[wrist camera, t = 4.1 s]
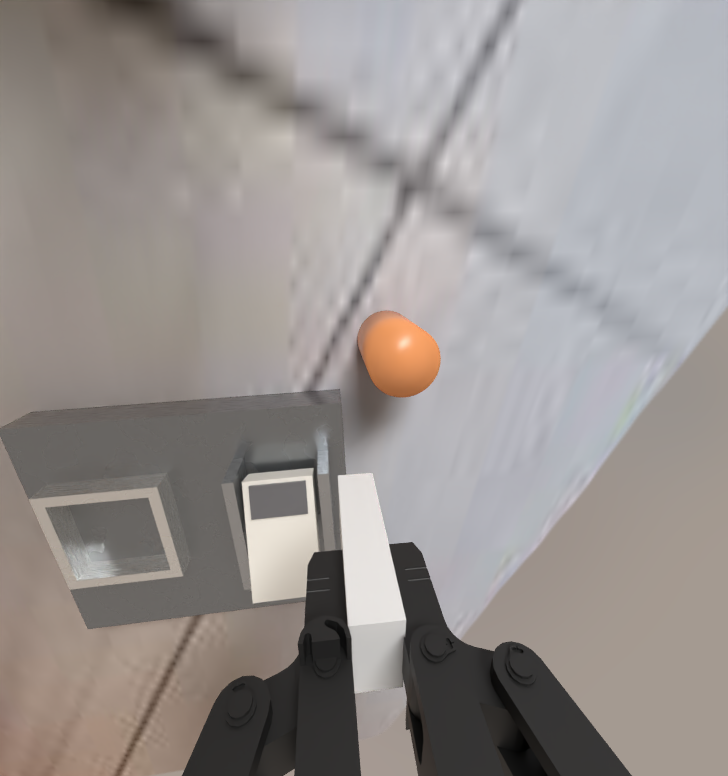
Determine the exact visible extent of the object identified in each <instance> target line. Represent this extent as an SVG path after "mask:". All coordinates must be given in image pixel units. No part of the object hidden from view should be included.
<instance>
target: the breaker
mask: <svg viewBox="0 0 728 776" xmlns="http://www.w3.org/2000/svg"><path fill="white" fill-rule="evenodd" d="M242 491H243V502H244V513H245V524H246V535H247V546H248V557H249V568H250V579H251V590H252V601H253V603H260V602H268V601H276V600H284V599H292V598H300V597H306V587H307V567H308V563H309V561H310V559H311V557H312V555H313V554H314V552H320V541H319V528H318V516H317V503H316V490H315V478H314V468H306V469H295V470H284V471H274V472H263V473H252V474H248V475H247V476H246V478H245V479H244V480H243V481H242Z"/></svg>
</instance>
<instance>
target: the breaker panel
mask: <svg viewBox="0 0 728 776" xmlns="http://www.w3.org/2000/svg"><path fill="white" fill-rule="evenodd" d="M0 437H1V439H2V441H3V443H4V446H5V448H6V450H7V452H8V454H9V457H10V459H11V461H12V463H13V465H14V468H15V470H16V472H17V474H18V476H19V479H20V481H21V483H22V485H23V487H24V490H25V492H26V494H27V496H28V498H29V499H28V500H29V502H30V504H31V506H32V508H33V511H34V513H35V515H36V517H37V519H38V522H39V524H40V526H41V528H42V530H43V533H44V535H45V537H46V539H47V541H48V544H49V546H50V548H51V550H52V552H53V555H54V557H55V559H56V561H57V563H58V566H59V568H60V570H61V572H62V574H63V577H64V579H65V581H66V583H67V585H68V588H69V590H70V591H71V593H72V595H73V597H74V600H75V602H76V604H77V606H78V608H79V611H80V613H81V615H82V617H83V619H84V622H85V624H86V626H87V628H88V629H93V628H101V627H108V626H116V625H124V624H132V623H140V622H148V621H155V620H163V619H171V618H179V617H187V616H194V615H202V614H210V613H218V612H226V611H234V610H241V609H249V608H257V607H265V606H273V605H280V604H288V603H296V602H304V601H306V597H300V598H292V599H284V600H276V601H268V602H260V603H253V601H252V590H251V579H250V568H249V557H248V546H247V535H246V524H245V513H244V502H243V491H242V481H243V480H244V479H245V478H246V476H247V475H248V474H252V473H263V472H274V471H284V470H295V469H306V468H314V478H315V490H316V503H317V516H318V528H319V541H320V552H322V551H333V550H341V537H340V518H339V493H338V475H346V467H345V452H344V437H343V422H342V407H341V397H340V389H338V390H324V391H311V392H297V393H284V394H270V395H257V396H243V397H230V398H216V399H203V400H190V401H176V402H163V403H149V404H136V405H122V406H109V407H95V408H82V409H68V410H55V411H42V412H31V413H29V414H27V415H25V416H23V417H21V418H19V419H17V420H15V421H13V422H11V423H9V424H8V425H6V426H4V427H2V428H0Z"/></svg>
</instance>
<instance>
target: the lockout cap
mask: <svg viewBox="0 0 728 776" xmlns="http://www.w3.org/2000/svg"><path fill="white" fill-rule="evenodd" d="M357 341H358V347H359V350H360V353H361V355H362V358H363V360H364V363H365V365H366V367H367V370H368V372H369V375H370V377H371V380H372V381H373V383H374V384H375V386H376V387H377V388H378V389H379V390H381V391H382V392H384V393H385V394H387V395H390V396H394V397H410V396H413V395H416V394H418V393H420V392H422V391H423V390H425V389H426V388H427V387H428V386H429V385H430V384H431V383H432V382H433V381H434V379H435V377H436V376H437V373H438V371H439V367H440V351H439V348H438V345H437V343H436V342H435V340H434V339H433V338H432V336H431V335H429V334H428V333H427V332H426V331H424V330H423V329H421V328H420V327H418V326H417V325H415V324H414V323H412V322H411V321H410V320H408V319H407V318H405V317H404V316H402V315H401V314H399V313H397V312H394V311H380V312H377V313H374V314H372V315H371V316H369V317H368V318H367V319H366V320H365V321H364V322H363V324H362V325H361V327H360V329H359V332H358V340H357Z"/></svg>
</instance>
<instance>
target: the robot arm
mask: <svg viewBox="0 0 728 776" xmlns="http://www.w3.org/2000/svg"><path fill="white" fill-rule="evenodd" d="M338 493H339V518H340V537H341V550H333V551H322V552H314V554H313V555H312V557H311V559H310V561H309V563H308V567H307V587H306V607H305V627H304V629H303V630H302V632H301V633H300V637H299V641H298V650H299V655H298V656H297V658H296V659H295V661H294V662H293V663H292V664H291V665H290V666H289V667H288V668H286V669H285V670H283V671H281V672H280V673H278V674H276V675H274V676H272V677H270V678H268V679H266V680H264V681H263V680H262V679H260V678H258V677H255V676H242V677H240V678H238V679H236V680H234V681H232V682H231V683H230V684H229V685H228V686H227V687H225V688H224V689H223V690H222V691H221V693H220V695H219V696H218V698H217V699H216V701H215V703H214V705H213V707H212V709H211V712H210V714H209V716H208V718H207V721H206V723H205V725H204V727H203V730H202V732H201V734H200V736H199V739H198V741H197V743H196V745H195V748H194V750H193V752H192V754H191V757H190V759H189V761H188V764H187V766H186V768H185V770H184V773H183V775H182V776H283V775H285V774H287V773H288V772H290V771H291V770H293V769H295V775H294V776H361V771H360V758H359V744H358V731H357V717H356V704H355V693H362V692H369V691H377V690H384V689H392V688H399V687H403V679H404V684H405V690H406V695H407V706H406V730H408V729H410V732H411V737H412V743H413V748H414V754H415V760H416V765H417V771H418V776H632V775H631V774H630V773H629V772H628V770H627V769H626V768H625V767H624V765H623V764H622V762H621V761H620V760H619V759H618V758H617V756H616V755H615V754H614V752H613V751H612V750H611V748H610V747H609V746H608V744H607V743H606V742H605V741H604V739H603V738H602V737H601V735H600V734H599V733H598V732H597V731H596V729H595V728H594V727H593V725H592V724H591V723H590V721H589V720H588V719H587V717H586V716H585V715H584V714H583V712H582V711H581V710H580V709H579V707H578V706H577V705H576V703H575V702H574V701H573V700H572V698H571V697H570V696H569V694H568V693H567V692H566V691H565V689H564V688H563V687H562V685H561V684H560V683H559V682H558V680H557V679H556V678H555V677H554V675H553V674H552V673H551V671H550V670H549V669H548V667H547V666H546V665H545V664H544V662H543V661H542V660H541V659H540V658H539V657H538V656H537V655H536V654H535V653H534V652H533V651H532V650H531V649H529V648H528V647H526V646H524V645H523V644H520V643H516V642H505V643H502V644H500V645H499V646H498V647H497V648H496V649H495V651H490V650H486V649H482V648H477V647H473V646H471V645H468V644H465V643H464V642H462V641H461V640H459V639H458V638H457V637H456V636H454V635H453V634H452V632H451V631H450V630H449V628H448V627H447V625H446V622H445V620H444V617H443V614H442V611H441V608H440V605H439V603H438V600H437V597H436V594H435V591H434V588H433V585H432V582H431V580H430V576H429V573H428V570H427V568H426V564H425V561H424V558H423V555H422V553H421V551H420V550H419V549H418V548H417V547H416V546H415V545H414V543H413V542H409V543H399V544H389V543H388V539H387V534H386V530H385V526H384V521H383V517H382V513H381V508H380V504H379V500H378V495H377V491H376V487H375V482H374V478H373V474H372V473H365V474H351V475H338Z"/></svg>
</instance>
